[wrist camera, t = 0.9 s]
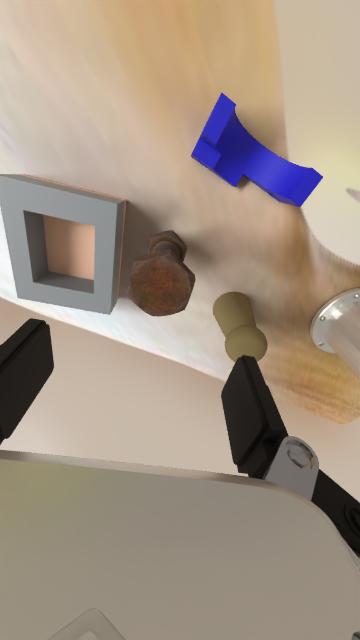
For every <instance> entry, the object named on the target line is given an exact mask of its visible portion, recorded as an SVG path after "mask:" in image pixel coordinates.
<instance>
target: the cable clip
mask: <svg viewBox="0 0 360 640" xmlns="http://www.w3.org/2000/svg"><path fill="white" fill-rule="evenodd" d="M235 106H236V104H235V103H234V102H233V101H231V100H230V99H229V98H228V97H227V96H225V95H224V94H223V93H221V95H220V97H219V99H218V101H217V103H216V105H215V106H214V108H213V110H212V112H211V115H210V117H209V119H208V121H207V123H206V125H205V127H204V129H203V131H202V133H201V136H200V138H199V140H198V142H197V144H196V146H195V148H194V150H193V152H192V154H191V157H192V158H194V159H195V160H197V161H198V162H199V163H201V164H202V165H204V166H205V167H207V168H208V169H209V170H211V171H212V172H214V173H215V174H216V175H218V176H219V177H221V178H222V179H224V180H225V181H226V182H228V183H229V184H231V185H232V186H234V187H236V185H237V183H238V182H239V180H240V178H241V177H242V175H244V176H245V177H246V178H248V179H249V180H250V181H252V182H253V183H255V184H256V185H257V186H259V187H260V188H261V189H263V190H264V191H265V192H267V193H268V194H270V195H271V196H272V197H274V198H275V199H276V200H278V201H279V202H283V203H287V204H290V205H294V206H298V207H301V206H302V204H303V203H304V201H305V200H306V199H307V198H308V196H309V195H310V194H311V192H312V191H313V190H314V189H315V187H316V186H317V185H318V183H319V182H320V181H321V179H322V178H323V176H321V175H320V174H319V173H318V172H317V171H315V170H314V169H313V168H306V167H302V166H299V165H296V164H293V163H291V162H289V161H287V160H285V159H283V158H281V157H279V156H277V155H276V154H274V153H273V152H271V151H270V150H268V149H267V148H266V147H264V146H263V145H262V144H260V143H259V142H258V141H257V140H256V139H255V138H253V137H252V136H251V135H250V134H249V133H248V131H247V130H246V129H245V128H244V127H243V126H242V124H241V123H240V121H239V120H238V118H237V116H236V113H235Z"/></svg>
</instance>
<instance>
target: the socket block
mask: <svg viewBox="0 0 360 640" xmlns="http://www.w3.org/2000/svg"><path fill="white" fill-rule="evenodd" d="M0 206H1V211H2V217H3V222H4V227H5V233H6V238H7V243H8V249H9V254H10V259H11V265H12V270H13V275H14V281H15V286H16V291H17V297H18V298H20V299H26V300H31V301H37V302H43V303H48V304H54V305H59V306H65V307H70V308H76V309H81V310H87V311H92V312H98V313H103V314H109V315H110V314H111V312H112V310H113V308H114V306H115V304H116V302H117V300H118V296H119V284H120V272H121V260H122V248H123V236H124V224H125V212H126V199H122V198H118V197H114V196H110V195H105V194H101V193H97V192H93V191H89V190H85V189H81V188H77V187H73V186H69V185H65V184H61V183H56V182H52V181H48V180H44V179H40V178H36V177H32V176H28V175H17V174H0Z"/></svg>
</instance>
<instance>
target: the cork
mask: <svg viewBox="0 0 360 640" xmlns="http://www.w3.org/2000/svg"><path fill="white" fill-rule="evenodd" d="M213 314H214V316H215V318H216V320H217V322H218V324H219V326H220V328H221V330H222V332H223V333H224V335H225V337H226V340H225V350H226V352H227V354H228V356H229V357H230V358H231V359H232V360H233V361H234V362H236V361H237V359H238V357H241V356H242V355H247V356H253V357H255V359H256V361H259V360H260V359H261V358H262V357H263V356H264V355H265V353H266V350H267V340H266V337H265V335H264V334H263V333H262V332H261V331H260V330H259V329H258V328H257V327H256V324H255V320H254V317H253V313H252V309H251V305H250V302H249V300H248V298H247V297H246V296H245V295H244V294H241V293H239V292H229V293H226V294H223V295H221V296H220V297H219V298H218V299H217V300H216V302H215V303H214V306H213Z"/></svg>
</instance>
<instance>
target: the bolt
mask: <svg viewBox="0 0 360 640" xmlns="http://www.w3.org/2000/svg"><path fill="white" fill-rule="evenodd" d="M186 250H187V246H186V245H185V244H184V242H183V241H182V240H181V239H180V238H179V237H178V236H177V234H176V233H175V232H174V231H172V230H171V231H165V232H161V233H157V234H154V235H152V236H151V238H150V242H149V247H148V251H147V255H145V256H141V257H137V258H136V259H135V261H134V263H133V267H132V271H131V276H130V281H129V286H128V292H127V295H128V296H129V297H130V299H131V300H132V301H133V302H134V303H135V304H136V305H137V306H138V307H139V308H140V309H142V310H143V311H144V312H146V313H147V314H149V315H151V316H167V315H172V314H175V313H178V312H180V311H183V310H185V308H186V306H187V304H188V301H189V299H190V296H191V293H192V290H193V287H194V283H195V275H194V274H193V273H192V272H191V270H190V269H189V268H188V267H187V266H186V265H185V264H184V263H183V260H184V257H185V254H186Z"/></svg>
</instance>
